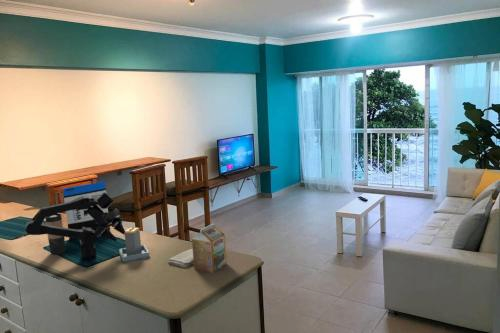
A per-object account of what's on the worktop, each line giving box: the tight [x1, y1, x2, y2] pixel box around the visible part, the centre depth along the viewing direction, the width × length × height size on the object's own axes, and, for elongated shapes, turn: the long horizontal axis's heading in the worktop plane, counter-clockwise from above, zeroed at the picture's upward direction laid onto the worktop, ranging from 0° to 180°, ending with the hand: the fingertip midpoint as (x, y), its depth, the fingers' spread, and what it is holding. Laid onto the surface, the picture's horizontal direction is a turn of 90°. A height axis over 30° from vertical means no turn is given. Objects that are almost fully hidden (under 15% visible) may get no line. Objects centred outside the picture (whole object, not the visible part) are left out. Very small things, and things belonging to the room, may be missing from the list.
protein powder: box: [62, 180, 111, 241], centre depth 241 cm, size 10×24×30 cm, turn 132°
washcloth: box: [168, 248, 194, 269], centre depth 197 cm, size 12×18×3 cm, turn 147°
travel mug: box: [44, 213, 67, 256], centre depth 214 cm, size 8×8×20 cm
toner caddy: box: [123, 226, 142, 256], centre depth 205 cm, size 5×6×14 cm
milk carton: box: [191, 223, 228, 274], centre depth 186 cm, size 11×11×19 cm
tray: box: [118, 244, 150, 263], centre depth 206 cm, size 13×13×3 cm
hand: (121, 237), depth 205 cm, fingers open, 9 cm apart
